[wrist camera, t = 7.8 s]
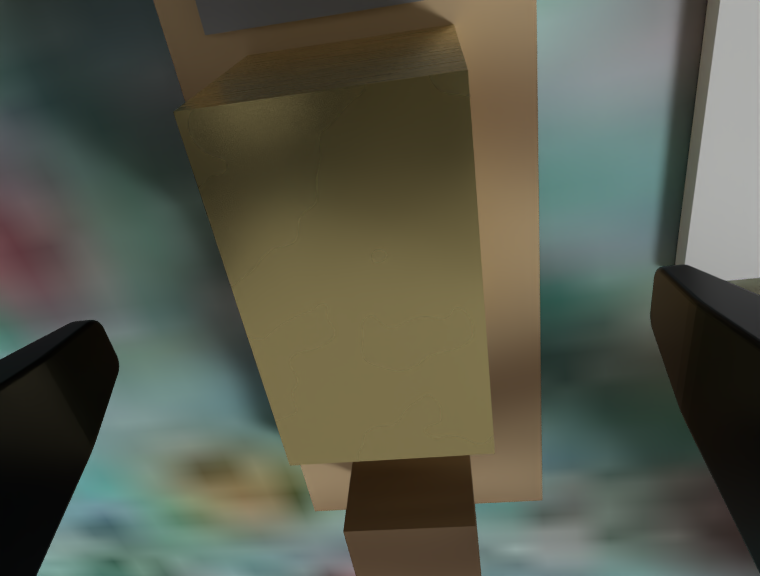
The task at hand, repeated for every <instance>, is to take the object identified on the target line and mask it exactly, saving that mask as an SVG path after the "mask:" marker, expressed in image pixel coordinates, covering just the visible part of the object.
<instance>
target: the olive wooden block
mask: <svg viewBox="0 0 760 576" xmlns="http://www.w3.org/2000/svg"><path fill="white" fill-rule="evenodd" d="M173 113H174V116H175V119H176V122H177V125H178V128H179V131H180V134H181V137H182V140H183V143H184V146H185V149H186V152H187V155H188V158H189V161H190V164H191V167H192V170H193V174H194V177H195V180H196V183H197V186H198V189H199V192H200V195H201V198H202V201H203V204H204V207H205V210H206V213H207V216H208V219H209V222H210V225H211V228H212V231H213V234H214V237H215V240H216V243H217V246H218V249H219V252H220V255H221V258H222V261H223V264H224V267H225V270H226V273H227V276H228V279H229V282H230V285H231V288H232V291H233V294H234V298H235V301H236V304H237V307H238V310H239V313H240V316H241V319H242V322H243V325H244V328H245V331H246V334H247V337H248V340H249V343H250V346H251V349H252V352H253V355H254V358H255V361H256V364H257V367H258V370H259V373H260V376H261V379H262V382H263V385H264V388H265V391H266V394H267V397H268V400H269V403H270V406H271V409H272V412H273V415H274V418H275V422H276V425H277V428H278V431H279V434H280V437H281V440H282V443H283V446H284V449H285V452H286V455H287V458H288V461H289V464H290V465H307V464H324V463H342V462H359V461H376V460H393V459H410V458H428V457H445V456H462V455H479V454H495V447H494V433H493V419H492V405H491V390H490V376H489V362H488V348H487V333H486V319H485V305H484V291H483V276H482V262H481V248H480V234H479V219H478V205H477V191H476V177H475V162H474V148H473V134H472V120H471V106H470V91H469V77H468V68H467V65H466V62H465V58H464V55H463V52H462V49H461V46H460V42H459V39H458V36H457V33H456V29H455V26H454V24H450V25H443V26H437V27H430V28H424V29H417V30H410V31H404V32H397V33H391V34H384V35H378V36H371V37H365V38H358V39H352V40H345V41H339V42H332V43H326V44H319V45H313V46H306V47H300V48H293V49H287V50H280V51H274V52H267V53H260V54H254V55H247V56H246V57H244V58H243V59H242V60H241V61H239V62H238V63H237V64H235V65H234V66H233V67H231V68H230V69H229V70H227V71H226V72H225V73H223V74H222V75H221V76H220V77H218V78H217V79H216V80H214V81H213V82H212V83H210V84H209V85H208V86H206V87H205V88H204V89H202V90H201V91H200V92H199V93H197V94H196V95H195V96H193V97H192V98H191V99H189V100H188V101H187V102H185V103H184V104H183V105H181V106H180V107H179V108H178V109H176V110H175V111H174V112H173Z"/></svg>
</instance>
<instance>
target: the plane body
mask: <svg viewBox="0 0 760 576" xmlns="http://www.w3.org/2000/svg"><path fill="white" fill-rule="evenodd" d="M153 1H154V4H155V8H156V11H157V14H158V17H159V20H160V23H161V26H162V30H163V33H164V36H165V39H166V42H167V45H168V48H169V52H170V55H171V58H172V61H173V64H174V67H175V71H176V74H177V77H178V80H179V83H180V86H181V89H182V93H183V96H184V99H185V102H187V101H188V100H189V99H191V98H192V97H193V96H195V95H196V94H197V93H199V92H200V91H201V90H202V89H204V88H205V87H206V86H208V85H209V84H210V83H212V82H213V81H214V80H216V79H217V78H218V77H220V76H221V75H222V74H223V73H225V72H226V71H227V70H229V69H230V68H231V67H233V66H234V65H235V64H237V63H238V62H239V61H241V60H242V59H243V58H244V57H246V56H247V55H254V54H260V53H267V52H274V51H280V50H287V49H293V48H300V47H306V46H313V45H319V44H326V43H332V42H339V41H345V40H352V39H358V38H365V37H371V36H378V35H384V34H391V33H397V32H404V31H410V30H417V29H424V28H430V27H437V26H443V25H450V24H454V26H455V29H456V33H457V36H458V39H459V42H460V46H461V49H462V52H463V55H464V58H465V62H466V65H467V68H468V77H469V91H470V106H471V120H472V134H473V148H474V162H475V177H476V191H477V205H478V219H479V234H480V248H481V262H482V276H483V291H484V305H485V319H486V333H487V348H488V362H489V376H490V390H491V405H492V419H493V433H494V447H495V454H479V455H462V456H445V457H428V458H410V459H393V460H376V461H359V462H342V463H324V464H307V465H301V468H302V471H303V474H304V477H305V481H306V484H307V487H308V490H309V493H310V496H311V499H312V503H313V506H314V509H315V511H328V510H346V515H345V523H344V531H343V532H344V536H345V539H346V543H347V546H348V550H349V553H350V557H351V560H352V563H353V567H354V570H355V574H356V576H481V568H480V557H479V545H478V534H477V523H476V512H475V503H496V502H517V501H538V500H542V435H541V351H540V266H539V182H538V98H537V13H536V0H153Z"/></svg>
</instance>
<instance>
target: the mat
mask: <svg viewBox="0 0 760 576" xmlns="http://www.w3.org/2000/svg"><path fill="white" fill-rule="evenodd" d="M682 264H684V265H690V266H692V267H694V268H697V269H699V270H701V271H704V272H706V273H709V274H711V275H713V276H716V277H718V278H720V279H723V280H725V281H729V280H740V279H751V278H760V0H708V4H707V12H706V20H705V28H704V36H703V44H702V52H701V60H700V68H699V76H698V84H697V92H696V100H695V108H694V116H693V124H692V132H691V140H690V148H689V156H688V164H687V172H686V180H685V188H684V196H683V204H682V212H681V220H680V228H679V236H678V244H677V252H676V260H675V265H682Z"/></svg>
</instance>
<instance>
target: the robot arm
mask: <svg viewBox="0 0 760 576" xmlns="http://www.w3.org/2000/svg"><path fill="white" fill-rule="evenodd" d="M650 319H651V326H652V330H653V333H654V336H655V338H656V341H657V344H658V347H659V350H660V353H661V356H662V359H663V362H664V365H665V368H666V371H667V374H668V377H669V380H670V383H671V386H672V388H673V391H674V394H675V397H676V400H677V403H678V405H679V408H680V411H681V413H682V415H683V417H684V420H685V422H686V424H687V426H688V428H689V430H690V432H691V434H692V436H693V438H694V440H695V442H696V444H697V446H698V449H699V451H700V453H701V455H702V457H703V459H704V461H705V463H706V465H707V467H708V469H709V471H710V473H711V475H712V477H713V479H714V481H715V483H716V485H717V487H718V489H719V491H720V493H721V495H722V497H723V499H724V501H725V503H726V505H727V507H728V510H729V512H730V514H731V516H732V518H733V520H734V522H735V524H736V526H737V528H738V530H739V532H740V534H741V536H742V538H743V540H744V542H745V544H746V546H747V548H748V550H749V552H750V554H751V556H752V558H753V560H754V562H755V564H756V566H757V569H758V571H759V573H760V295H758V294H756V293H754V292H751V291H749V290H746V289H744V288H742V287H739V286H737V285H735V284H732V283H730V282H727V281H725V280H723V279H720V278H718V277H716V276H713V275H711V274H709V273H706V272H704V271H701V270H699V269H697V268H694V267H692V266H690V265H684V264H682V265H671V266H662V267H659V268H658V269H657V270H656V272H655V275H654V283H653V292H652V302H651V311H650ZM118 372H119V361H118V357H117V355H116V353H115V351H114V349H113V346H112V344H111V342H110V340H109V338H108V336H107V334H106V332H105V330H104V328H103V326H102V325H101V324H100V323H99V322H98V321H95V320H85V321H75V322H71V323H69V324H67V325H65V326H63V327H61V328H59V329H57V330H56V331H54V332H52V333H50V334H48V335H46V336H44V337H42V338H40V339H38V340H36V341H35V342H33V343H31V344H29V345H27V346H25V347H23V348H21V349H19V350H17V351H15V352H14V353H12V354H10V355H8V356H6V357H4V358H2V359H0V576H37V573H38V571H39V569H40V567H41V564H42V562H43V560H44V558H45V556H46V553H47V551H48V549H49V547H50V544H51V542H52V540H53V538H54V535H55V533H56V531H57V529H58V527H59V524H60V522H61V520H62V518H63V515H64V513H65V511H66V509H67V506H68V504H69V502H70V500H71V498H72V495H73V493H74V491H75V489H76V486H77V484H78V482H79V480H80V477H81V475H82V473H83V471H84V469H85V466H86V464H87V462H88V459H89V457H90V455H91V452H92V450H93V447H94V445H95V442H96V439H97V436H98V433H99V430H100V427H101V424H102V421H103V418H104V415H105V412H106V409H107V406H108V403H109V400H110V397H111V393H112V390H113V387H114V384H115V381H116V378H117V375H118Z"/></svg>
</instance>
